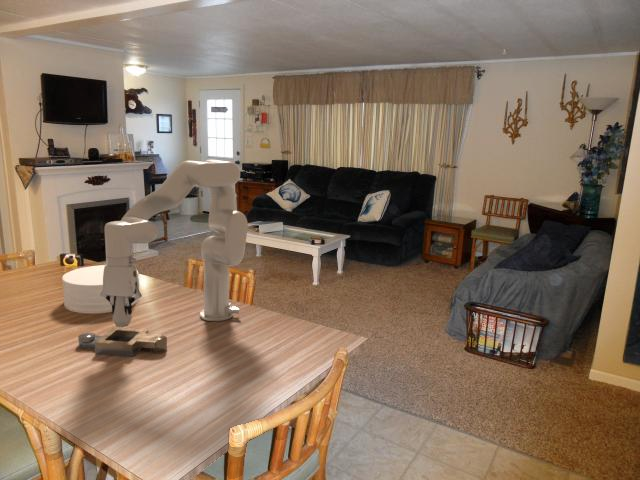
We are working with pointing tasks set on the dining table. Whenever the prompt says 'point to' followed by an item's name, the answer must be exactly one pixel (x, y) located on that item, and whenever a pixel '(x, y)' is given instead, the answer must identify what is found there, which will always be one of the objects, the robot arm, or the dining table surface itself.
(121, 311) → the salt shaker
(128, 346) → the upper end link
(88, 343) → the lower end link
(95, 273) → the plate stack
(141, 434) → the dining table surface
